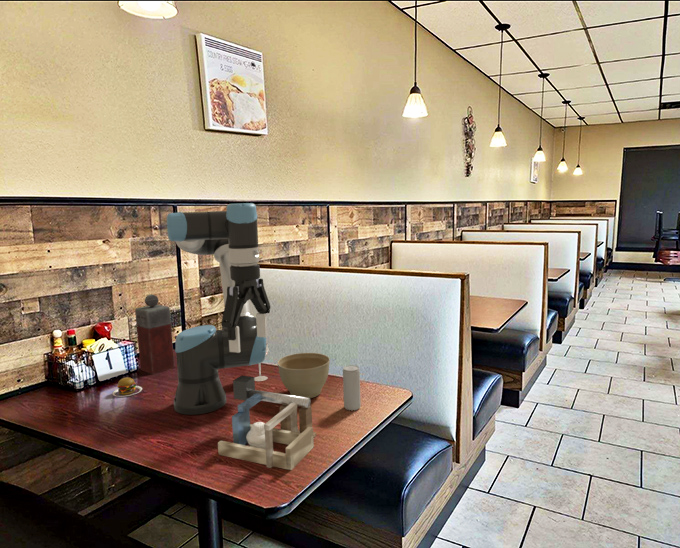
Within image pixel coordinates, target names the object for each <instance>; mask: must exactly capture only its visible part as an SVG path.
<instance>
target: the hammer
mask: <svg viewBox="0 0 680 548" xmlns="http://www.w3.org/2000/svg"><path fill="white" fill-rule="evenodd" d="M254 378H255V377H254V376H249V375H248V376H247V375H239V376H238V377H237V378H235V379H233V380H232V385H233V387H232V388H233V399H234V400H241V401H242V402H240V403H239V404H238V405H237V412H236V413H234V415H232V416H231V422H232V423H231V425H232V440H233V442H232V443H236V444H241V445H246V444H248V441H247V439H246V436H247V433H248V432H249V431H250V430H251V429H250V424H251V416H250V413H251V412H250V410H251V408H253V407H254V406H256V405H257V404H258V403H260V402H268V403H274V404H281V405H283V404H287V405H290V404H291V403H297V407H300V408H302V407H306V408H308V407H309V406H311V401H312V400H311V398H306V397H299V396H293V395H290V394H284V393H279V392H270V391H264V390H258V389H256V383H255V382H256V381H255V379H254Z"/></svg>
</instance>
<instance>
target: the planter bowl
mask: <svg viewBox="0 0 680 548" xmlns="http://www.w3.org/2000/svg"><path fill="white" fill-rule="evenodd" d="M330 361H331V359H330V357H329V356H327V355H326V354H322V353H318V352H300V353H299V352H298V353H292V354H289V355H286V356H283V357H281V358H280V359H278V360H277V367H278V372H279V373H278V374H279V377H280V379H281V382H282V384H283V386H284V387H285V389H287V390H288V391H289V395H293V396H299V397H306V398H310V399H312V398H313V399H314V398H315V397H317V396H319V395H320V394H321V392H322V390H323V388H324V385H325V384H326V382H327V379H328V377H329V372H330V363H331V362H330Z"/></svg>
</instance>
